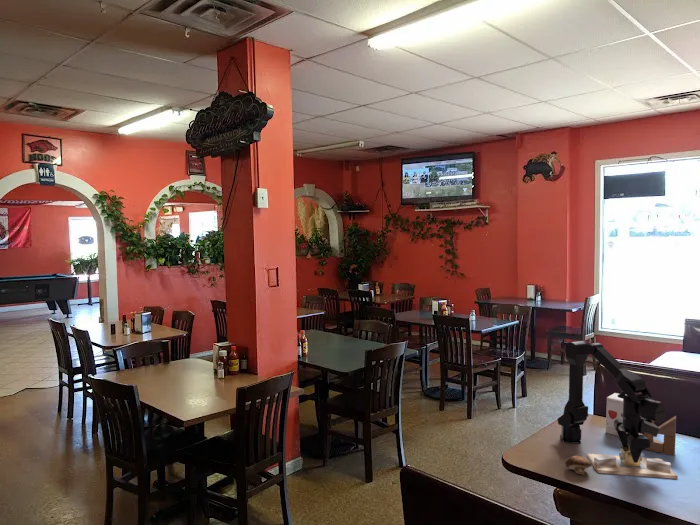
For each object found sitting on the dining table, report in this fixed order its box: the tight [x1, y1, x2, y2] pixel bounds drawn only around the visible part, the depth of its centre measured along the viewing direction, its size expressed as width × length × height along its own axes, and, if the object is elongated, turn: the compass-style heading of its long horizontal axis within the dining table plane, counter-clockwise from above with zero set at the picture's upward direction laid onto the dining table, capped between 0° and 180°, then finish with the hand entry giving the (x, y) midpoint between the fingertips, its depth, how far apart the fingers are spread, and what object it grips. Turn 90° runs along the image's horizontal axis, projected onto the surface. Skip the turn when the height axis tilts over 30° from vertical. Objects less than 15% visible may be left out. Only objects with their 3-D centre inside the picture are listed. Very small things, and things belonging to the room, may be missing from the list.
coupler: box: [618, 446, 642, 467], centre depth 180 cm, size 7×4×5 cm, turn 80°
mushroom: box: [565, 455, 592, 476], centre depth 177 cm, size 8×8×6 cm
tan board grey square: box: [586, 453, 678, 480], centre depth 181 cm, size 25×13×3 cm, turn 80°
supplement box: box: [605, 392, 623, 437], centre depth 210 cm, size 9×9×15 cm
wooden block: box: [642, 415, 677, 457], centre depth 193 cm, size 4×11×18 cm, turn 55°
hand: (630, 456), depth 180 cm, fingers open, 9 cm apart
